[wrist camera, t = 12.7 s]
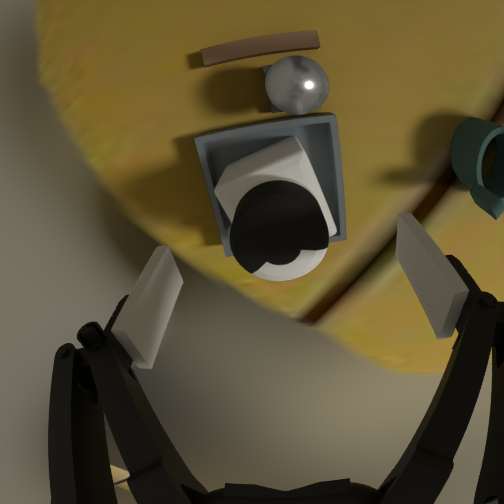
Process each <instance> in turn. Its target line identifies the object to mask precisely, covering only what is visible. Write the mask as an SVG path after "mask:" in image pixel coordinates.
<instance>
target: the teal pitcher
mask: <svg viewBox="0 0 504 504" xmlns="http://www.w3.org/2000/svg"><path fill="white" fill-rule="evenodd" d="M493 137H494V138H495V141H496V146H497V157H496V162H495V166H494V168H493V170H492V172H491V174H490V175H489V176H488V177H487V178H486V179H485V180H484V181H482V176H481V164H482V158H483V154H484V151H485V149H486V147H487V145H488V143H489V142H490V141H491V139H492V138H493ZM450 158H451V164H452V168H453V170H454V172H455V173H456V175H457V177H458V178H459V180H460V181H461V182H462V183H463V184H465V185H466V186H468V187H469V188H471V190H470V194H471V196H472V198H473V200H474V202H475V203H476V204H477V205H478V206H479V207H481V208H482V209H483V210H484V211H486V212H487V213H488V214H489V215H490V216H492V217H493V218H494V219H495V220H497V219H498V217H499V216H500V215H501V214H502V213H503V212H504V126H501V125H498V124H495V123H492V122H489V121H486V120H482V119H479V118H471V119H468V120H466V121H464V122H463V123H462V124H461V125H460V126H459V127H458V128H457V130H456V132H455V134H454V136H453V139H452V143H451V149H450Z"/></svg>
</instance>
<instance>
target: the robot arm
mask: <svg viewBox="0 0 504 504" xmlns="http://www.w3.org/2000/svg"><path fill="white" fill-rule="evenodd" d="M395 256H396V257H397V259H398V261H399V263H400V264H401V266H402V268H403V270H404V272H405V274H406V275H407V277H408V279H409V281H410V283H411V285H412V287H413V289H414V291H415V293H416V295H417V297H418V299H419V301H420V303H421V305H422V307H423V309H424V311H425V313H426V315H427V317H428V319H429V321H430V323H431V326H432V328H433V330H434V332H435V335H436V337H437V339H438V340H440V339H444V338H448V337H451V336H452V334H453V332H454V330H455V327H456V329H457V331H458V333H459V334H458V337H457V339H456V341H455V343H454V345H453V348H452V349H453V351H452V353H451V356H450V359H449V362H448V364H447V367H446V369H445V372H444V374H443V377H442V379H441V382H440V384H439V386H438V389H437V391H436V393H435V395H434V397H433V400H432V402H431V404H430V406H429V408H428V410H427V412H426V414H425V416H424V418H423V420H422V422H421V424H420V426H419V427H418V429H417V431H416V433H415V435H414V436H413V438H412V440H411V442H410V443H409V445H408V447H407V449H406V450H405V452H404V453H403V455H402V457H401V459H400V460H399V461H398V463H397V464H396V466H395V467H394V469H393V470H392V471H391V472H390V474H389V475H388V476H387V478H386V479H385V480H384V482H383V483H382V485H381V486H380V487H379V489H378V490H377V489H374V488H372V487H370V486H367V485H364V484H359V483H353V482H352V483H351V482H350V478H348V479H340V480H333V481H325V482H318V483H314V484H311V485H308V486H305V487H301V488H297V489H294V490H290V491H281V490H276V489H272V488H267V487H263V486H259V485H255V484H230V483H225V488H221V489H217V490H214V491H211V492H208V491H207V490H206V489H205V487H204V486H203V485H202V484H201V483H200V482H199V481H198V480H196V478H195V477H194V476H193V475H192V473H191V472H190V470H189V469H188V467H187V466H186V464H185V463H184V461H183V460H182V458H181V457H180V455H179V453H178V452H177V450H176V449H175V447H174V445H173V444H172V442H171V440H170V439H169V437H168V435H167V434H166V432H165V430H164V428H163V427H162V425H161V424H160V421H159V420H158V418H157V416H156V414H155V412H154V411H153V409H152V407H151V405H150V403H149V401H148V399H147V397H146V395H145V393H144V391H143V389H142V387H141V385H140V383H139V381H138V379H137V377H136V375H135V372H134V370H133V369H132V368H131V364H132V362H133V361H134V363H135V364H136V365H137V366H138V368H149V369H151V368H152V366H153V363H154V360H155V357H156V354H157V351H158V349H159V346H160V343H161V340H162V337H163V335H164V331H165V329H166V326H167V323H168V321H169V318H170V315H171V313H172V310H173V307H174V305H175V302H176V299H177V297H178V294H179V292H180V289H181V286H182V284H183V280H182V278H181V275H180V273H179V270H178V268H177V265H176V263H175V260H174V258H173V255H172V253H171V250H170V248H169V245H165V246H159V247H157V248H156V249H155V251H154V253H153V255H152V256H151V258H150V260H149V261H148V263H147V265H146V266H145V268H144V270H143V272H142V273H141V275H140V277H139V279H138V280H137V282H136V284H135V286H134V287H133V289H132V291H131V293H130V295H126V296H125V297H124V298H123V299H122V300H121V301H120V302H119V303H118V305H117V307H116V310H115V311H114V312H113V314H112V315H113V316H111V318H110V320H109V322H108V324H107V325H106V327H105V329H104V331H103V329H102V328H101V327H100V325H99V324H98V323H97V322H89V323H87V324H85V325H84V326H82V327H81V329H80V330H79V331H78V334H77V339H78V341H79V342H80V343H81V344H82V346H83V347H84V348H80V349H76V348H75V347H74V345H73V344H71V343H67V344H64V345H62V346H61V347H60V348H59V349H58V350H57V352H56V355H55V359H54V366H53V374H52V382H51V392H50V405H49V427H48V459H49V478H50V490H51V498H52V499H51V504H118V503H117V498H116V494H115V489H114V484H113V479H112V473H111V468H110V462H109V456H108V448H107V440H106V432H105V423H104V413H105V416H106V419H107V421H108V424H109V427H110V429H111V432H112V434H113V437H114V439H115V442H116V444H117V447H118V449H119V451H120V453H121V456H122V458H123V460H124V463H125V465H126V467H127V469H128V471H129V474H130V477H129V478H127V483H128V486H129V488H130V490H131V492H132V494H133V496H134V498H135V500H136V502H137V504H434V502H435V500H436V499H437V497H438V495H439V494H440V492H441V490H442V488H443V486H444V485H445V483H446V481H447V480H448V478H449V476H450V473H451V471H452V469H453V466H454V463H453V458H454V456H455V454H456V451H457V449H458V447H459V445H460V443H461V440H462V438H463V436H464V433H465V431H466V429H467V426H468V424H469V421H470V418H471V416H472V413H473V410H474V407H475V404H476V401H477V398H478V395H479V392H480V389H481V386H482V382H483V379H484V375H485V372H486V368H487V364H488V360H489V356H490V351H491V347H492V392H491V407H490V417H489V426H488V433H487V440H486V446H485V452H484V457H483V462H482V467H481V471H480V475H479V479H478V483H477V488H476V492H475V497H474V504H504V302H498V301H497V299H496V298H495V297H494V296H493V295H492V294H490V293H488V292H483V291H481V290H480V288H479V287H478V285H477V284H476V282H475V281H474V280H473V278H472V277H471V275H470V274H468V271H467V270H466V269H465V268H464V266H463V265H462V263H461V262H460V261H459V260H458V259H457V258H456V257H454V256H453V255H444V254H443V252H442V251H441V250H440V248H439V247H438V246H437V245H436V243H435V242H434V241H433V239H432V238H431V237H430V236H429V234H428V233H427V232H426V231H425V229H424V228H423V227H422V226H421V225H420V223H419V222H418V221H417V220H416V219H415V217H414V216H413V215H412V214H411V213H402V214H398V230H397V243H396V254H395ZM103 410H104V411H103Z"/></svg>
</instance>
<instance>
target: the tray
mask: <svg viewBox="0 0 504 504" xmlns="http://www.w3.org/2000/svg"><path fill="white" fill-rule="evenodd" d="M291 136H295V137H297V139H298V140H299V142H300V144H301V145H302V147H303V149H304V150H305V152H306V154H307V156H308V159H309V161H310V163H311V166H312V168H313V170H314V173H315V175H316V177H317V180H318V182H319V185H320V187H321V190H322V192H323V195H324V197H325V200H326V202H327V205H328V208H329V210H330V213H331V215H332V218H333V221H334V223H335V226H336V229H337V232H336V234H335V235H333V236H330V237H329V242H336V241H343V240H347V238H346V215H345V198H344V184H343V172H342V162H341V152H340V143H339V134H338V126H337V119H336V115H335V114H333V113H320V114H311V115H302V116H295V117H287V118H280V119H274V120H267V121H261V122H256V123H250V124H245V125H239V126H234V127H229V128H225V129H220V130H215V131H211V132H207V133H202V134H200V135H198V136H197V137H195V138H194V140H195V144H196V148H197V151H198V155H199V159H200V163H201V167H202V171H203V174H204V178H205V182H206V186H207V189H208V193H209V197H210V201H211V204H212V208H213V212H214V215H215V219H216V222H217V226H218V230H219V233H220V237H221V240H222V244H223V247H224V251H225V255H226V257H228V256H234V255H233V253H232V250H231V246H230V239H229V237H230V229H231V225H232V223H231V221H230V219H229V218H228V216H227V214H226V213H225V211H224V209H223V207H222V206H221V204H220V202H219V200H218V199H217V197H216V195H215V192H214V190H215V187H216V185H217V183H218V181H219V180H220V178H221V176H222V174H223V172H224V170H225V168H226V166H227V165H229V164H231V163H233V162H235V161H237V160H239V159H241V158H243V157H246V156H248V155H250V154H252V153H254V152H257V151H259V150H261V149H263V148H266V147H268V146H270V145H273V144H275V143H277V142H280V141H282V140H284V139H287V138H289V137H291Z"/></svg>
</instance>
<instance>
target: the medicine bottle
mask: <svg viewBox="0 0 504 504" xmlns="http://www.w3.org/2000/svg"><path fill="white" fill-rule="evenodd" d="M214 192H215V195H216V197H217V199H218V200H219V202H220V204H221V206H222V207H223V209H224V211H225V213H226V214H227V216H228V218H229V219H230V221H231V223H232V225H231V229H230V237H229V239H230V246H231V250H232V253H233V255H234V257H235V258H236V260H237V261H238V263H239V264H240V265H241V266H242V267H243V268H244V269H245V270H247V271H248V272H249V273H251V274H253V275H255V276H257V277H259V278H262V279H266V280H272V281H286V280H291V279H295V278H298V277H301V276H303V275H305V274H307V273H308V272H310V271H311V270H312V269H314V268H315V267H316V266H317V265H318V264H319V263H320V261H321V260H322V259H323V257H324V255H325V253H326V251H327V248H328V243H329V237H330V236H333V235H335V234H336V232H337V229H336V226H335V223H334V221H333V218H332V215H331V213H330V210H329V208H328V205H327V202H326V200H325V197H324V195H323V192H322V190H321V187H320V185H319V182H318V180H317V177H316V175H315V173H314V170H313V168H312V166H311V163H310V161H309V159H308V156H307V154H306V152H305V150H304V149H303V147H302V145H301V144H300V142H299V140H298V139H297V137H295V136H291V137H289V138H287V139H284V140H282V141H280V142H277V143H275V144H273V145H270V146H268V147H266V148H263V149H261V150H259V151H257V152H254V153H252V154H250V155H248V156H246V157H243V158H241V159H239V160H237V161H235V162H233V163H231V164H229V165H227V166H226V168H225V170H224V172H223V174H222V176H221V178H220V180H219V181H218V183H217V185H216V187H215V190H214Z"/></svg>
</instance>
